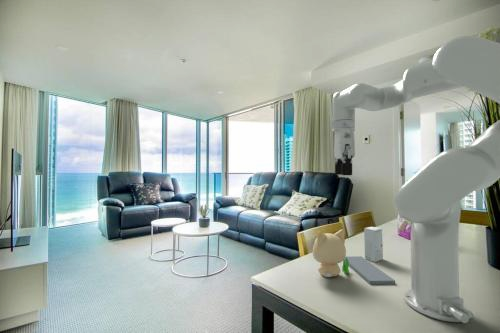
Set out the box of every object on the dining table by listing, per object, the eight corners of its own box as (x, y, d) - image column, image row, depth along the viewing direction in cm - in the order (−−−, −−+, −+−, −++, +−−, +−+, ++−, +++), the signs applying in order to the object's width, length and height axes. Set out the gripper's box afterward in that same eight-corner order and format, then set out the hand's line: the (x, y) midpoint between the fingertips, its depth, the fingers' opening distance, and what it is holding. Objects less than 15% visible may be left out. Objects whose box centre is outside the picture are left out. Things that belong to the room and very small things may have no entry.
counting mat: (395, 283, 70) (395, 280, 70) (369, 284, 69) (369, 280, 69) (361, 258, 90) (361, 256, 90) (341, 259, 89) (341, 256, 89)
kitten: (338, 265, 83) (338, 224, 84) (359, 277, 74) (359, 231, 74) (302, 271, 78) (302, 227, 79) (320, 284, 69) (320, 235, 69)
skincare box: (375, 262, 86) (375, 230, 86) (363, 258, 90) (363, 228, 90) (383, 259, 90) (383, 228, 90) (372, 255, 93) (371, 226, 94)
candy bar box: (397, 234, 124) (396, 204, 125) (406, 234, 124) (405, 204, 125) (411, 241, 113) (410, 208, 114) (421, 241, 113) (420, 208, 114)
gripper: (363, 121, 72) (362, 175, 72) (347, 130, 89) (347, 174, 89) (338, 122, 73) (337, 175, 73) (327, 131, 90) (327, 174, 90)
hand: (343, 174), depth 81 cm, fingers open, 9 cm apart
